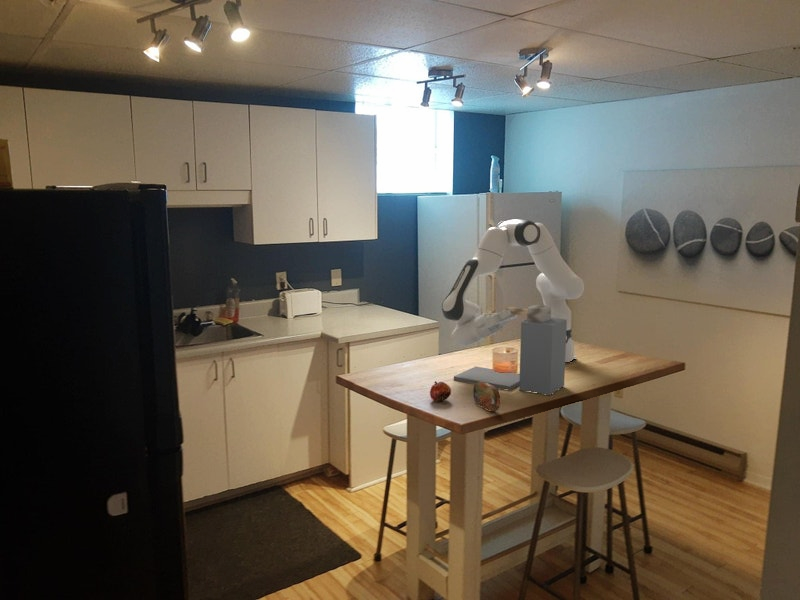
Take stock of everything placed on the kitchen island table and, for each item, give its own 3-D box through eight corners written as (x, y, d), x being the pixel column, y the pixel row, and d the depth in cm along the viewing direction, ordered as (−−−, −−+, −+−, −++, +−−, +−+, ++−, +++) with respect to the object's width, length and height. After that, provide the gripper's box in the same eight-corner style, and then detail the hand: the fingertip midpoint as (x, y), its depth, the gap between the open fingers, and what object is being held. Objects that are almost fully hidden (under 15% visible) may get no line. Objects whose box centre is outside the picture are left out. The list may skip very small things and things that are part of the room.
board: (453, 379, 246) (453, 376, 246) (475, 369, 261) (475, 366, 260) (509, 390, 233) (509, 386, 232) (529, 379, 247) (529, 375, 247)
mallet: (502, 318, 236) (502, 305, 235) (511, 314, 242) (511, 302, 242) (542, 322, 227) (542, 309, 226) (550, 319, 233) (551, 306, 232)
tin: (472, 401, 220) (472, 378, 219) (480, 400, 221) (480, 377, 220) (493, 415, 206) (493, 390, 205) (501, 414, 207) (502, 389, 206)
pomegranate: (453, 408, 219) (446, 385, 226) (455, 396, 214) (448, 373, 221) (433, 412, 218) (426, 388, 225) (434, 400, 213) (427, 376, 220)
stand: (519, 390, 232) (521, 321, 228) (534, 381, 244) (536, 316, 240) (549, 396, 226) (552, 325, 222) (564, 386, 237) (566, 319, 233)
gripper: (471, 321, 237) (500, 306, 229) (495, 313, 253) (523, 299, 245) (478, 336, 236) (507, 321, 228) (502, 327, 252) (530, 313, 244)
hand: (516, 310), depth 237 cm, fingers open, 8 cm apart
